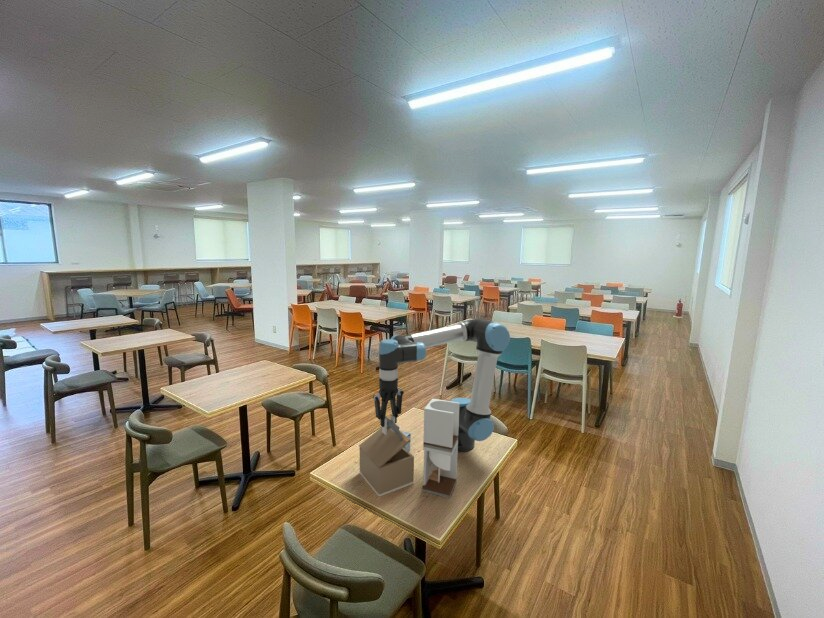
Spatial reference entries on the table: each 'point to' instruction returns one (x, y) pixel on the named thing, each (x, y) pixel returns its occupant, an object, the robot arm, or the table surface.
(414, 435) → the table surface
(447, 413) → the white tower
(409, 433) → the medicine box
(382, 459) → the lid flap
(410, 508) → the table surface
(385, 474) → the carton
